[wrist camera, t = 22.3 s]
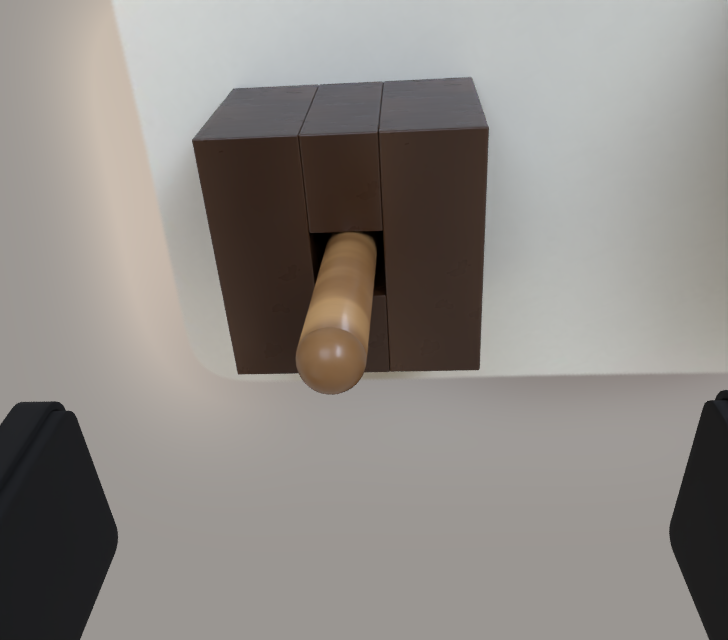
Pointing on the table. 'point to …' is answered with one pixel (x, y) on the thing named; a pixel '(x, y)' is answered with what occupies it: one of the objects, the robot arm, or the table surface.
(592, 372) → the table surface
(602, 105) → the table surface
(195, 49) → the table surface
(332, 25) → the table surface
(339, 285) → the stick
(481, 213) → the holder
